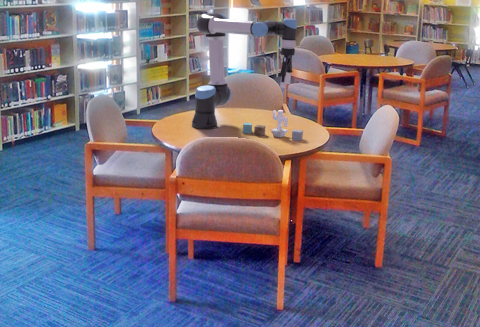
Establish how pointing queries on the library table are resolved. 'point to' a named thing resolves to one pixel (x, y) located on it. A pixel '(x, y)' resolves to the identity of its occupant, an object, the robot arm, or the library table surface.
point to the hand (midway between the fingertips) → (285, 86)
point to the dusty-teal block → (247, 127)
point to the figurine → (279, 124)
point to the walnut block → (259, 130)
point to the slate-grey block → (297, 135)
